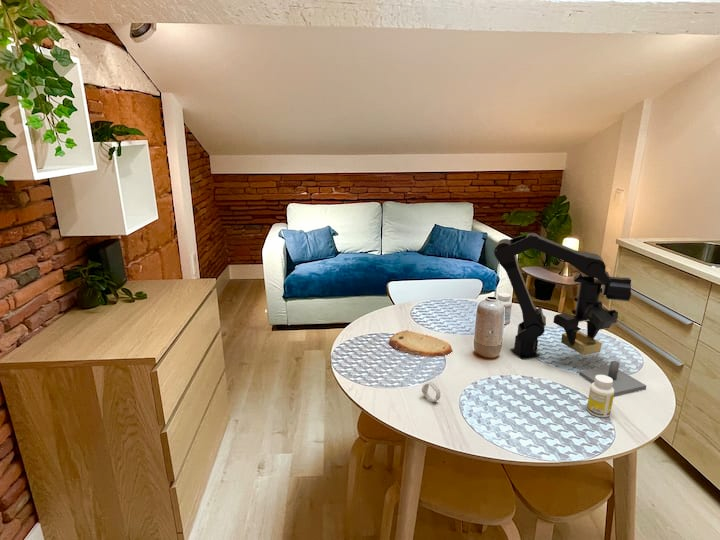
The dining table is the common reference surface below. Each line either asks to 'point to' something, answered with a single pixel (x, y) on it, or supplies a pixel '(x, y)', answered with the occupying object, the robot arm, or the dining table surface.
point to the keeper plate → (617, 384)
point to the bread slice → (419, 344)
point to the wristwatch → (425, 390)
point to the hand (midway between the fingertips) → (580, 343)
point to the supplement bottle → (601, 396)
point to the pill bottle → (506, 305)
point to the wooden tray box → (583, 344)
